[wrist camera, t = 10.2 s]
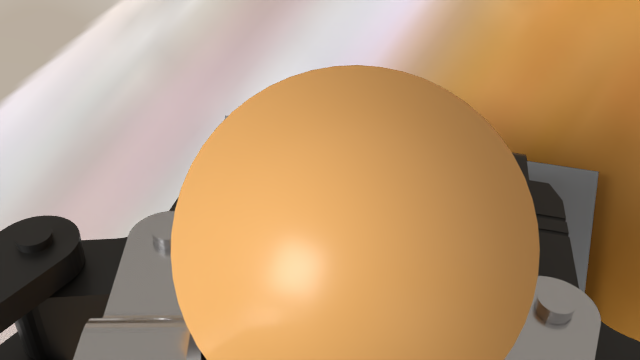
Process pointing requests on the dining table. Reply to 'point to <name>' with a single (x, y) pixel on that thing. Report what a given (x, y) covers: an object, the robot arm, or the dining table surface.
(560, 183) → the lockout board
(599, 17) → the dining table surface
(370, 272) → the wooden peg
